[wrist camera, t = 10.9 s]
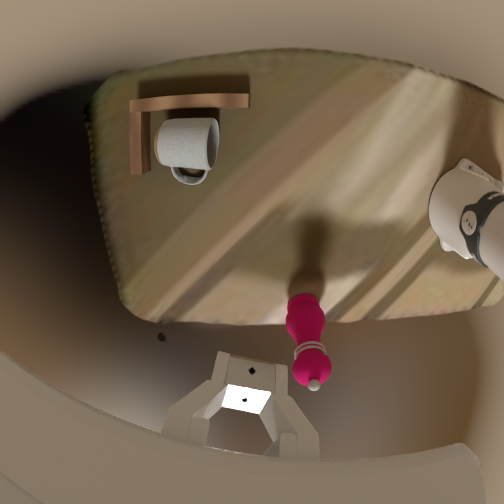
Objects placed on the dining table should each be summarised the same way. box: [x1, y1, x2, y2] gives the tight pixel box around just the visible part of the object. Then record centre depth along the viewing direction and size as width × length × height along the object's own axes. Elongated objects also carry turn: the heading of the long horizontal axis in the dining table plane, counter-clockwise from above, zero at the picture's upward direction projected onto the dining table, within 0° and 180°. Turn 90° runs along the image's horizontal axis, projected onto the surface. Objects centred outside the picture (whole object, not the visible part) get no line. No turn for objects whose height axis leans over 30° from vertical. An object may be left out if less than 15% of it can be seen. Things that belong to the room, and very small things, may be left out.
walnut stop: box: [129, 93, 250, 175], centre depth 38 cm, size 18×12×4 cm, turn 87°
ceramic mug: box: [154, 118, 219, 185], centre depth 37 cm, size 11×8×8 cm
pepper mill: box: [286, 294, 331, 391], centre depth 44 cm, size 7×7×20 cm
